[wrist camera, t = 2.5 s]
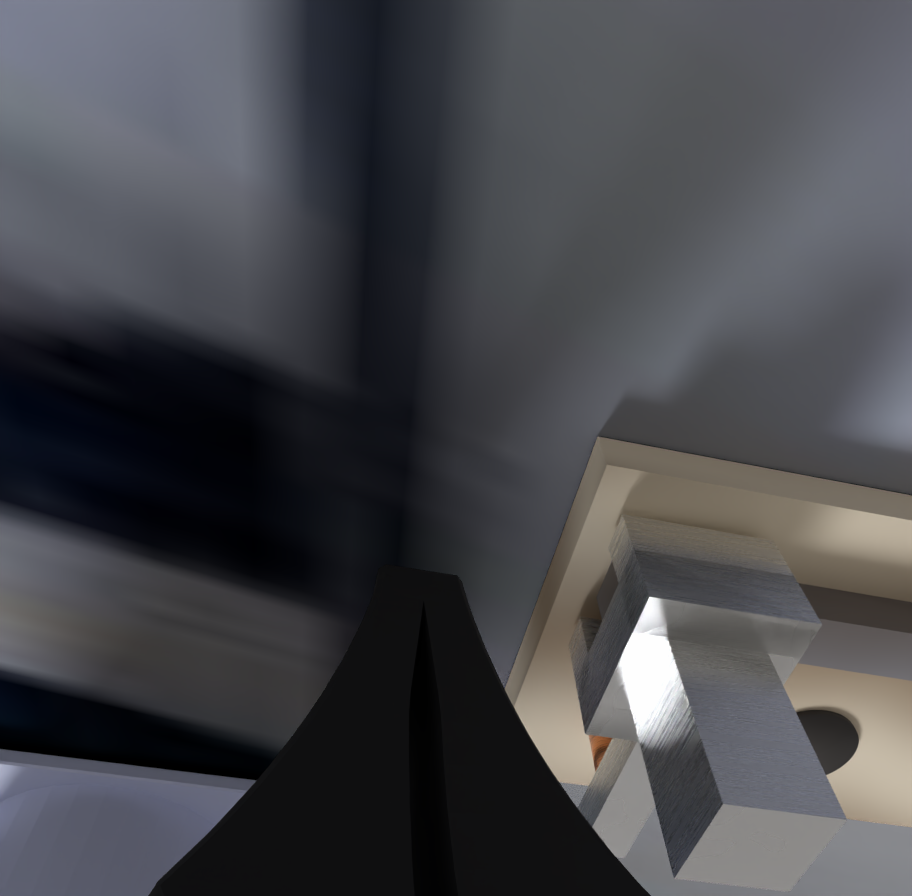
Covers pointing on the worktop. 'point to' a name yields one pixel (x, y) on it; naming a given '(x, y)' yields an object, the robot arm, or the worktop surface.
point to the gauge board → (814, 567)
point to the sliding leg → (702, 707)
